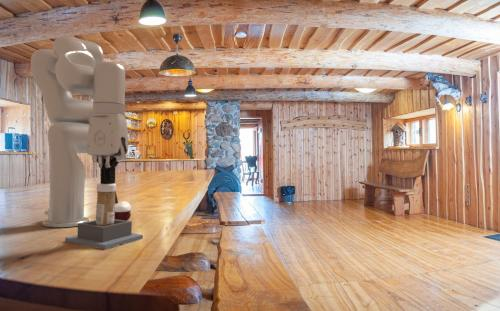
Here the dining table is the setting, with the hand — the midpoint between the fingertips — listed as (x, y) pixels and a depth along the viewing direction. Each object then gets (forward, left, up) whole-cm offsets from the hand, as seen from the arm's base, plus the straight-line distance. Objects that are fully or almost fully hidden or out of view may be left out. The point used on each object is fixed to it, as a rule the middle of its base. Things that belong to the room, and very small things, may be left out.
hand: (107, 183), depth 85 cm
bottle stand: (-1, 0, -15) cm, 15 cm away
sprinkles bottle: (-1, 0, -14) cm, 14 cm away
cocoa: (-17, +20, -15) cm, 30 cm away
